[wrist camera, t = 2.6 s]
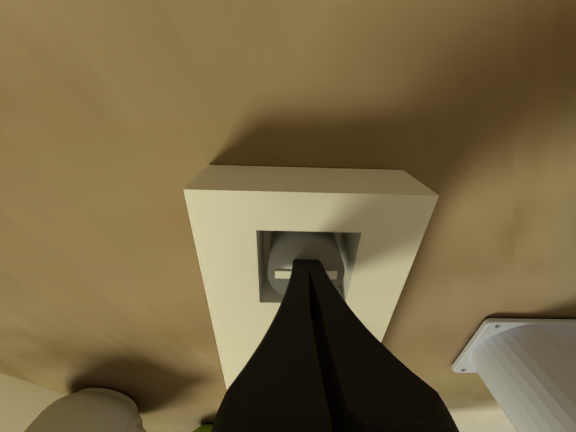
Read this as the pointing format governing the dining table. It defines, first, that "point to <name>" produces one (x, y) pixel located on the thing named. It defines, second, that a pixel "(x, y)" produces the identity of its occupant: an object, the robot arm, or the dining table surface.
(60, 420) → the teacup
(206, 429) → the snail figurine
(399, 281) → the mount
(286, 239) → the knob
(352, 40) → the dining table surface
